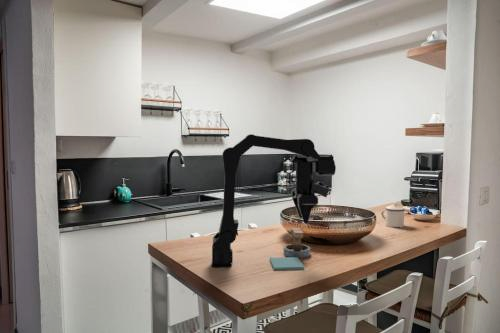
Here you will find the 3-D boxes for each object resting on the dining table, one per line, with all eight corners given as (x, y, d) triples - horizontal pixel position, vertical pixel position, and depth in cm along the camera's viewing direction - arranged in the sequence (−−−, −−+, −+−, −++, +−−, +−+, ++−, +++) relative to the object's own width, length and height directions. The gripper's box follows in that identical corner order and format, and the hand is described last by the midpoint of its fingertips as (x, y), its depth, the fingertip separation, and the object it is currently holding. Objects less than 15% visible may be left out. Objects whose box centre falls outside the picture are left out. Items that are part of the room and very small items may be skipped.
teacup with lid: (407, 226, 178) (408, 203, 177) (397, 228, 172) (398, 205, 171) (386, 222, 187) (386, 200, 186) (376, 224, 182) (376, 201, 181)
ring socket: (286, 258, 127) (286, 251, 127) (281, 250, 137) (281, 244, 137) (312, 257, 128) (312, 251, 128) (306, 249, 137) (306, 243, 137)
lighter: (327, 238, 155) (327, 215, 154) (323, 239, 152) (323, 216, 152) (311, 235, 160) (311, 213, 160) (307, 236, 158) (307, 214, 157)
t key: (305, 256, 129) (305, 232, 128) (292, 257, 129) (292, 232, 128) (301, 251, 136) (301, 228, 135) (288, 251, 136) (288, 228, 135)
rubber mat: (273, 270, 115) (273, 267, 115) (269, 260, 125) (269, 257, 125) (304, 269, 116) (304, 266, 116) (297, 259, 126) (297, 257, 126)
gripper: (334, 178, 113) (333, 226, 114) (321, 173, 131) (320, 215, 132) (299, 178, 112) (298, 226, 113) (291, 173, 131) (290, 215, 132)
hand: (303, 220), depth 123 cm, fingers open, 9 cm apart
